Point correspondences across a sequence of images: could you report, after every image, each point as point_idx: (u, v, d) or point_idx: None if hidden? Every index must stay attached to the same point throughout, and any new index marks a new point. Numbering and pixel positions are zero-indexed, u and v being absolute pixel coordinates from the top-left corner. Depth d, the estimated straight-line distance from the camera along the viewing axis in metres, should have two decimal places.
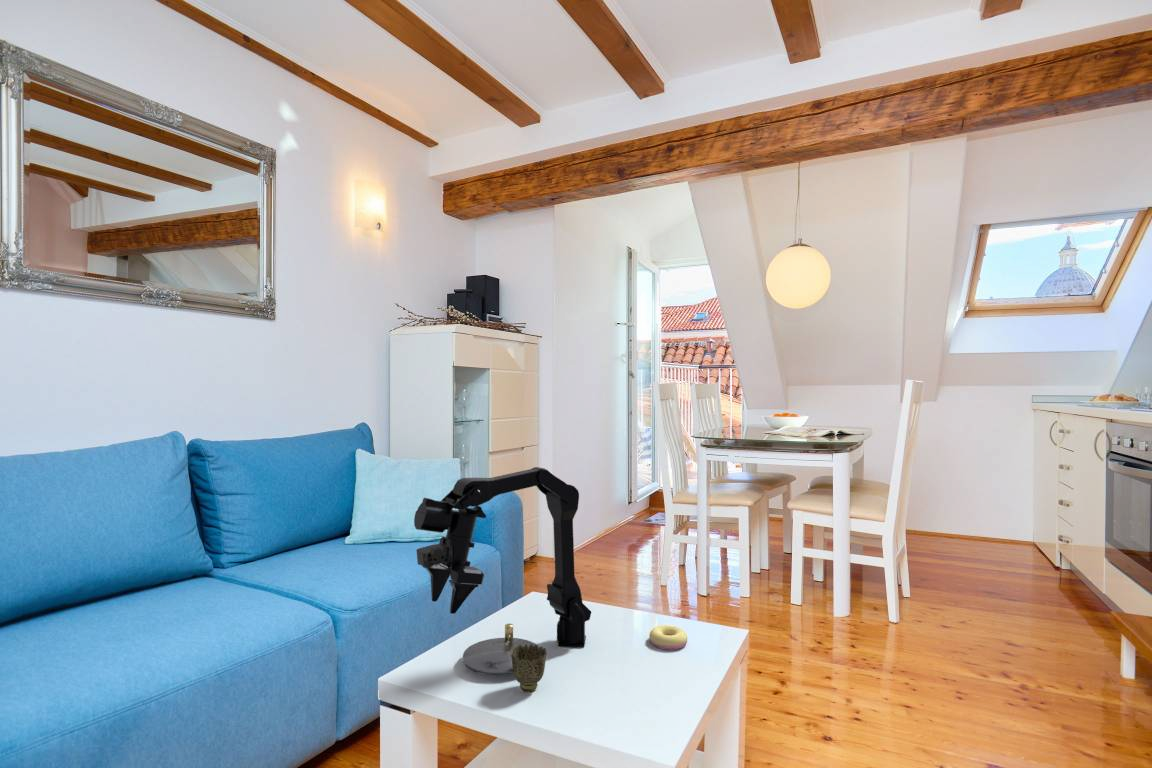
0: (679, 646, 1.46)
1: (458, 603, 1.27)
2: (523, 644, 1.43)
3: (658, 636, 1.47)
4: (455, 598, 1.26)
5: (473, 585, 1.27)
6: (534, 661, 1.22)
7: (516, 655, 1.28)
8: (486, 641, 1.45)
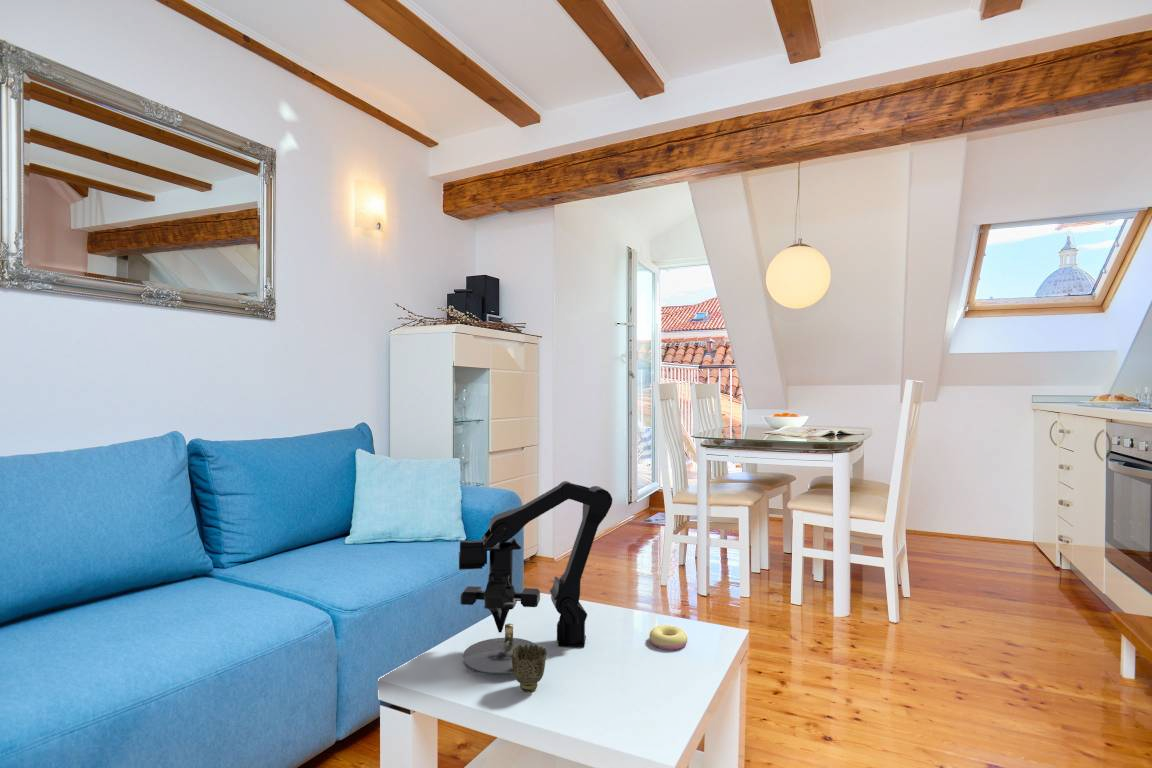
0: (679, 646, 1.46)
1: (504, 622, 1.47)
2: (523, 644, 1.43)
3: (658, 636, 1.47)
4: (505, 619, 1.46)
5: (516, 602, 1.48)
6: (534, 661, 1.22)
7: (516, 655, 1.28)
8: (486, 641, 1.45)
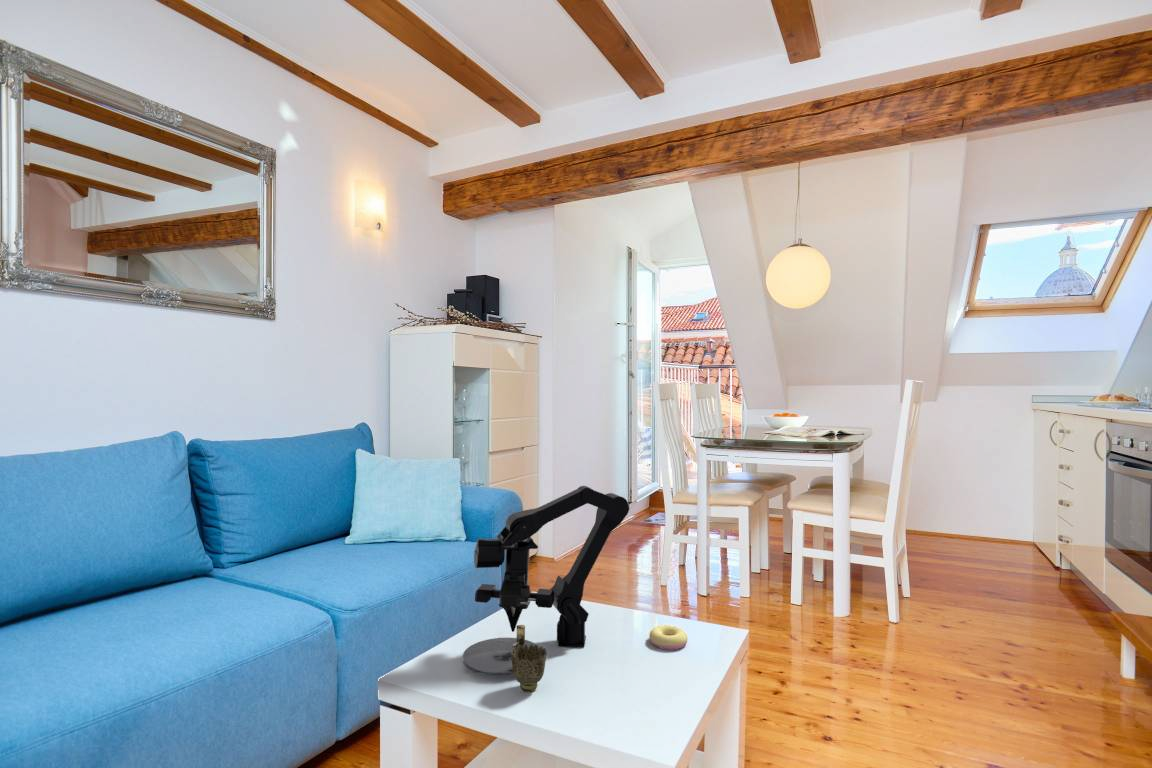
0: (679, 646, 1.46)
1: (516, 621, 1.46)
2: None
3: (658, 636, 1.47)
4: (518, 618, 1.45)
5: (529, 602, 1.47)
6: (534, 661, 1.22)
7: (516, 655, 1.28)
8: (499, 639, 1.46)
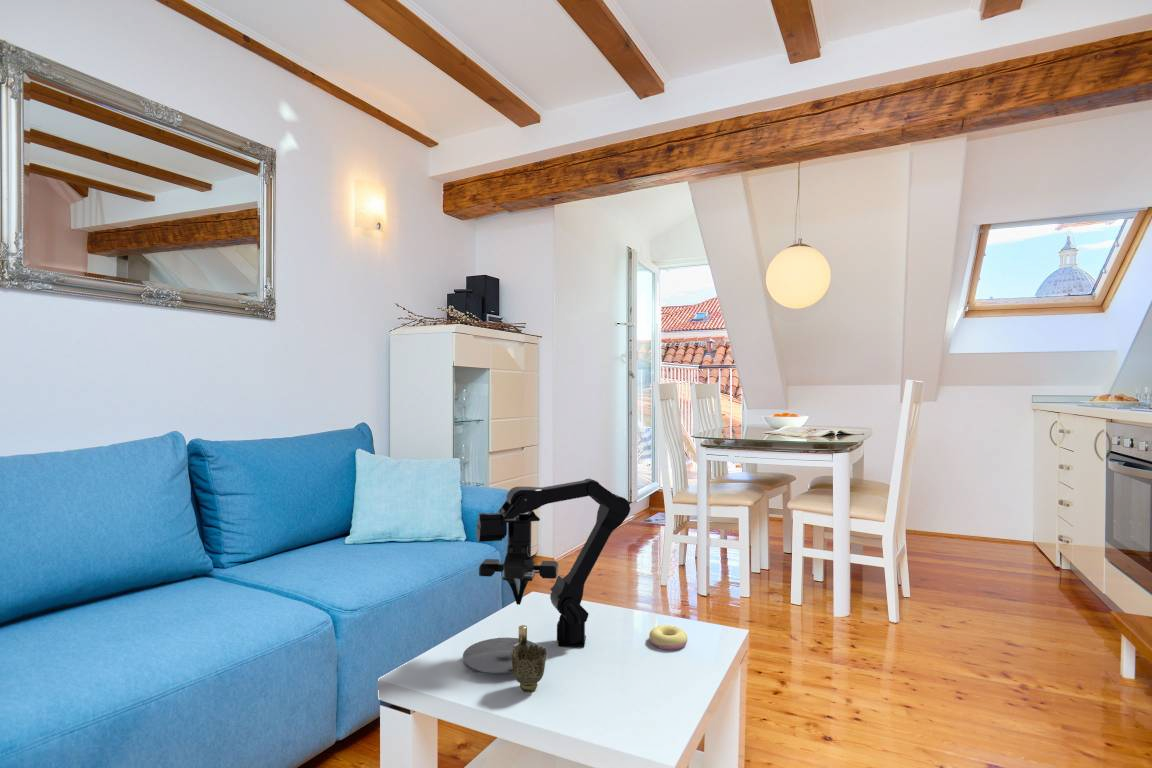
0: (679, 646, 1.46)
1: (522, 594, 1.46)
2: None
3: (658, 636, 1.47)
4: (523, 591, 1.45)
5: (534, 574, 1.47)
6: (534, 661, 1.22)
7: (516, 655, 1.28)
8: (501, 639, 1.46)
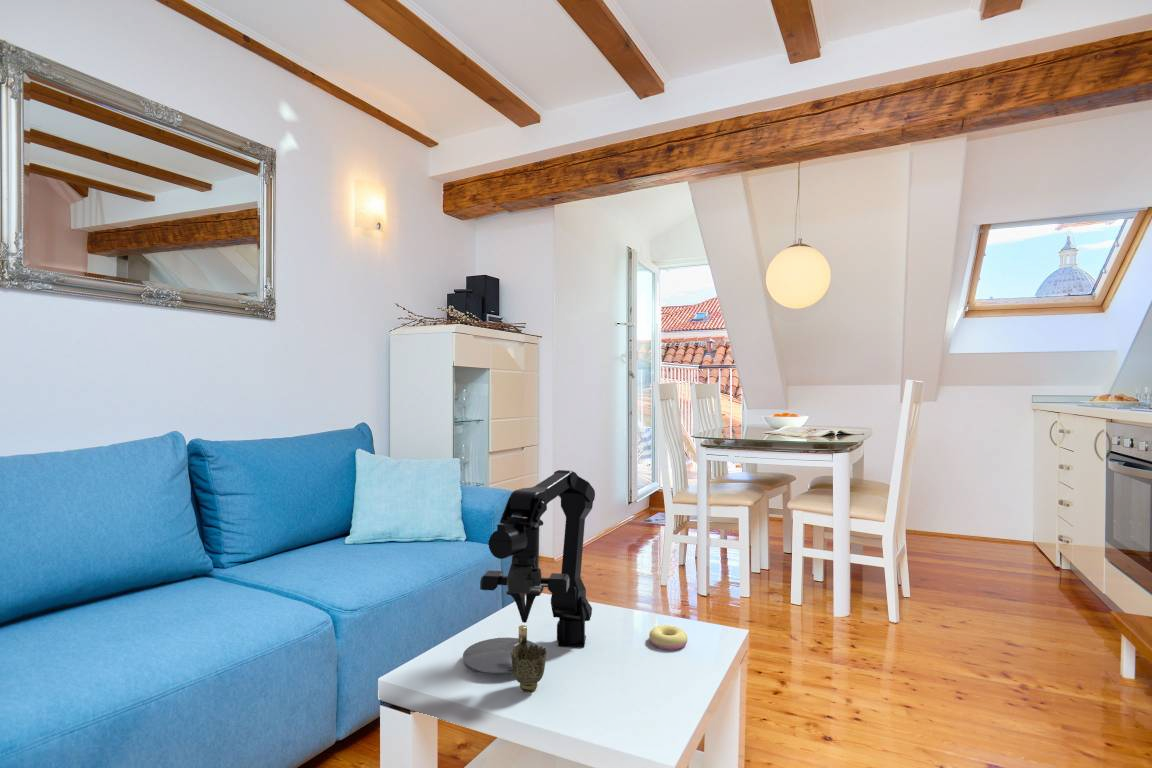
0: (679, 646, 1.46)
1: None
2: None
3: (658, 636, 1.47)
4: (530, 607, 1.29)
5: (542, 589, 1.31)
6: (534, 661, 1.22)
7: (516, 655, 1.28)
8: (501, 639, 1.46)
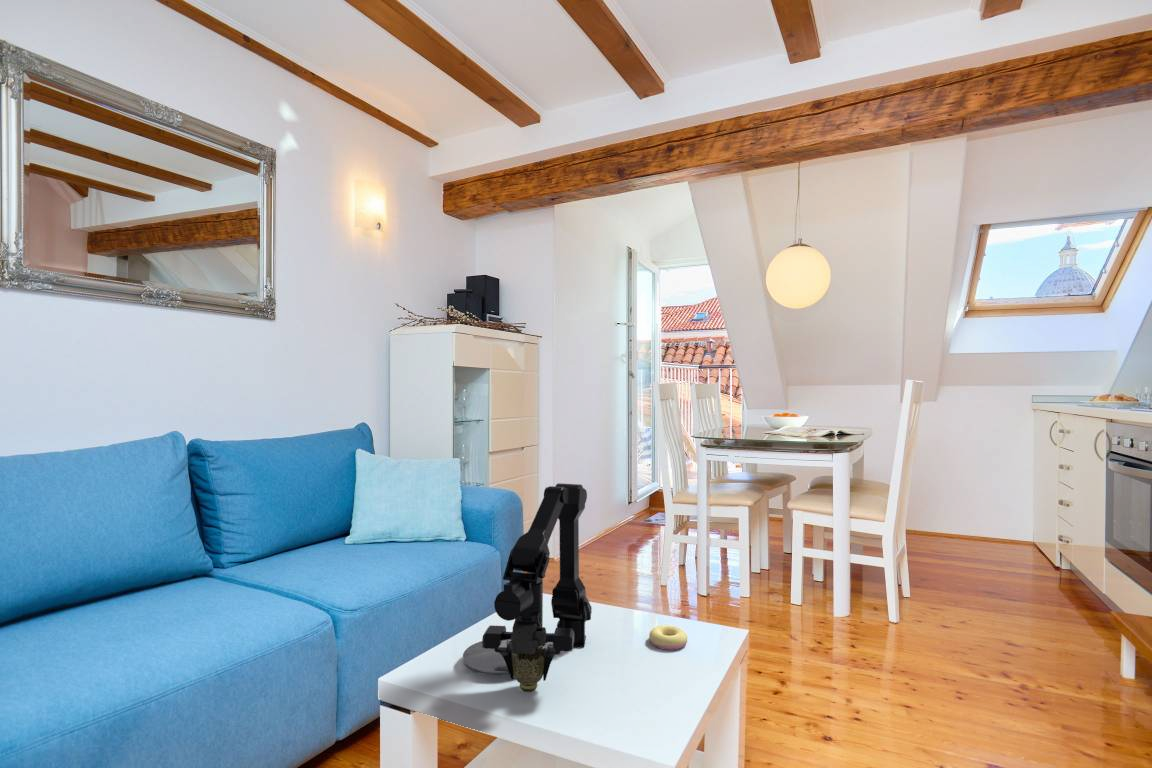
0: (679, 646, 1.46)
1: None
2: None
3: (658, 636, 1.47)
4: (549, 665, 1.25)
5: None
6: (534, 661, 1.22)
7: (516, 655, 1.28)
8: None
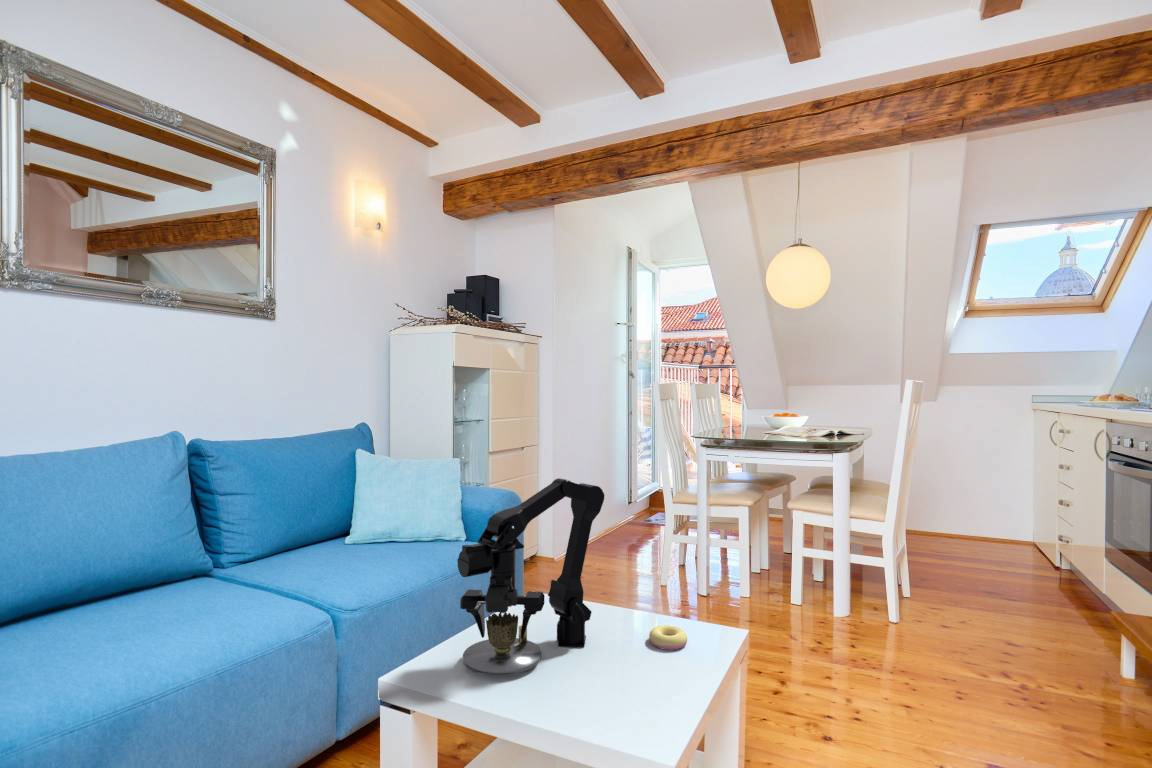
0: (679, 646, 1.46)
1: (525, 628, 1.38)
2: (529, 649, 1.41)
3: (658, 636, 1.47)
4: (527, 624, 1.37)
5: None
6: (506, 627, 1.35)
7: (491, 622, 1.40)
8: None
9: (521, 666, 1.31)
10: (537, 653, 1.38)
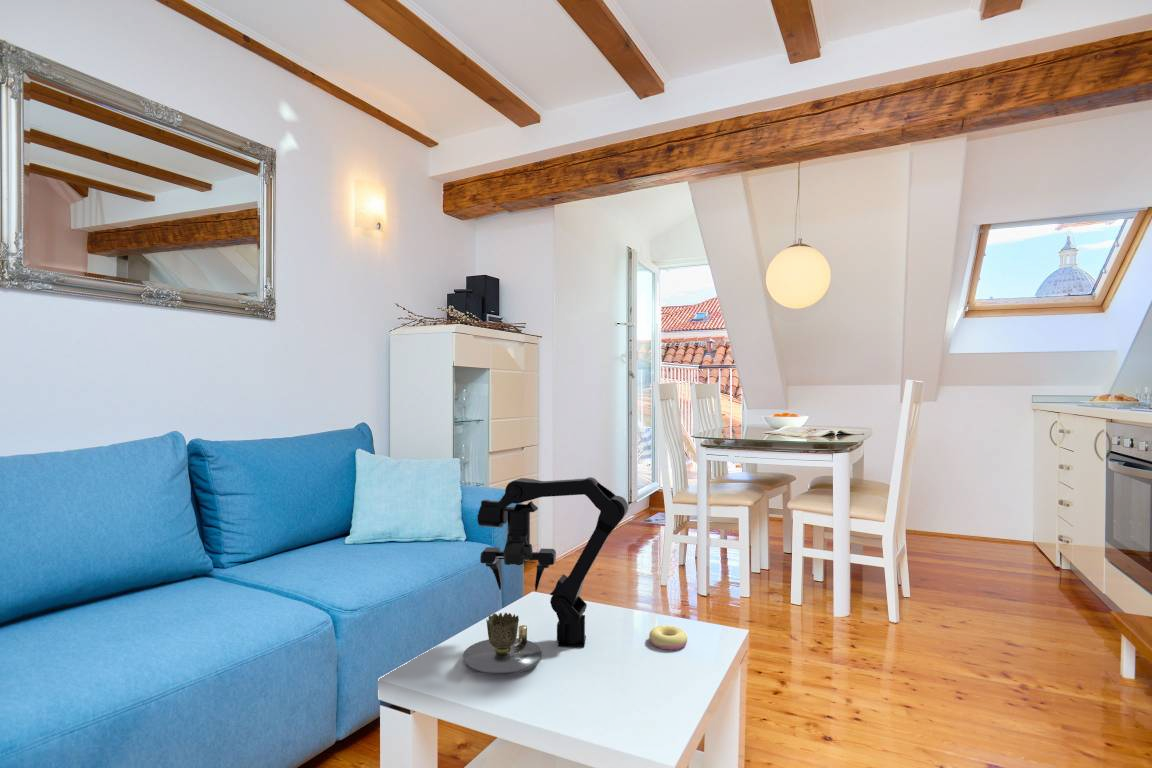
0: (679, 646, 1.46)
1: None
2: (529, 649, 1.41)
3: (658, 636, 1.47)
4: (540, 577, 1.52)
5: None
6: (507, 627, 1.35)
7: (491, 622, 1.40)
8: None
9: (521, 666, 1.31)
10: (537, 653, 1.38)
